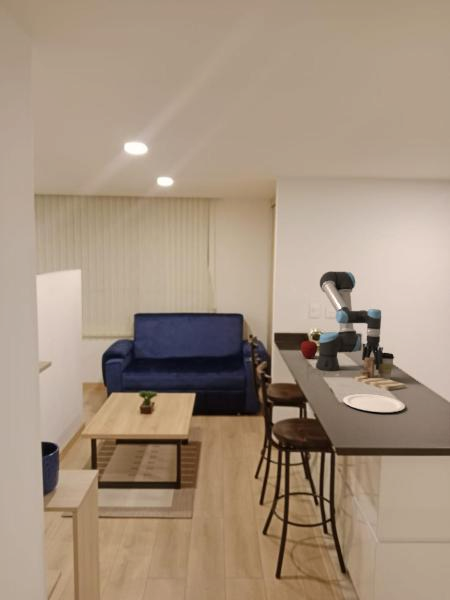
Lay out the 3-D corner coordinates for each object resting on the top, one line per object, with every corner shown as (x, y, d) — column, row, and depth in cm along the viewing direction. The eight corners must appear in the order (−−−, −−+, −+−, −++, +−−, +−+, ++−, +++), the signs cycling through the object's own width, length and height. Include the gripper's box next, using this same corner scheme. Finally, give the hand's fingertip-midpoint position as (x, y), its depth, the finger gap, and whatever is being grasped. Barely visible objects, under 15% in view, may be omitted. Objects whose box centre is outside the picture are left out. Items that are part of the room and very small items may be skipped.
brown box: (356, 376, 283) (357, 358, 282) (370, 374, 289) (371, 356, 288) (364, 379, 278) (365, 360, 277) (378, 377, 284) (379, 358, 283)
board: (352, 379, 284) (352, 376, 284) (369, 377, 291) (369, 373, 291) (388, 390, 262) (388, 386, 262) (404, 387, 269) (405, 383, 269)
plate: (397, 419, 215) (397, 415, 215) (334, 407, 231) (335, 404, 230) (410, 403, 240) (410, 400, 240) (353, 393, 255) (353, 390, 255)
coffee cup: (394, 381, 284) (395, 356, 282) (376, 379, 285) (378, 355, 284) (391, 377, 293) (393, 352, 292) (375, 375, 295) (376, 351, 294)
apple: (319, 358, 345) (320, 339, 344) (313, 360, 335) (314, 341, 334) (303, 355, 351) (304, 337, 350) (297, 358, 342) (298, 340, 340)
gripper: (356, 333, 289) (354, 370, 291) (381, 338, 273) (379, 378, 275) (365, 332, 293) (363, 369, 295) (390, 337, 276) (388, 376, 278)
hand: (371, 373), depth 285 cm, fingers closed on brown box, 6 cm apart
